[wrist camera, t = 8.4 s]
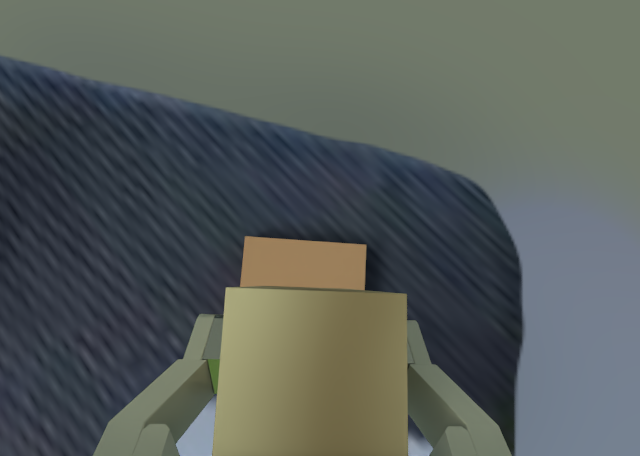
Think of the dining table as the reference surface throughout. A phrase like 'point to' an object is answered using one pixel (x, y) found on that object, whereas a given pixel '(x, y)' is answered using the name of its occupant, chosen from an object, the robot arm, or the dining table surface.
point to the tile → (303, 264)
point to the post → (312, 373)
